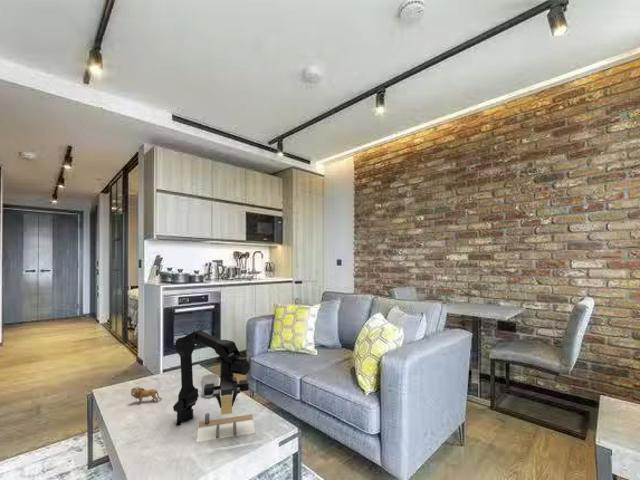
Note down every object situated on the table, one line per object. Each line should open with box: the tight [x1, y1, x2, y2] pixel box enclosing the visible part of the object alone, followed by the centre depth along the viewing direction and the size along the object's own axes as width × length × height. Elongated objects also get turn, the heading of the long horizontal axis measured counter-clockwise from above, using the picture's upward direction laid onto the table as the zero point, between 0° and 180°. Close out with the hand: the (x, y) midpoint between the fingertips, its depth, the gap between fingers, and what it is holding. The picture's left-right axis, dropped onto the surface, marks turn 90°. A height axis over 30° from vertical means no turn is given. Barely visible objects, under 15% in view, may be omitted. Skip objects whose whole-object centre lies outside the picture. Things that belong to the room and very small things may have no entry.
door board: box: [195, 413, 256, 443], centre depth 142 cm, size 24×16×5 cm
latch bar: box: [220, 395, 233, 416], centre depth 139 cm, size 8×4×4 cm, turn 16°
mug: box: [200, 373, 220, 399], centre depth 177 cm, size 13×9×10 cm
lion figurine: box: [130, 386, 163, 406], centre depth 167 cm, size 15×5×9 cm, turn 113°
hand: (226, 407), depth 139 cm, fingers closed on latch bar, 4 cm apart
